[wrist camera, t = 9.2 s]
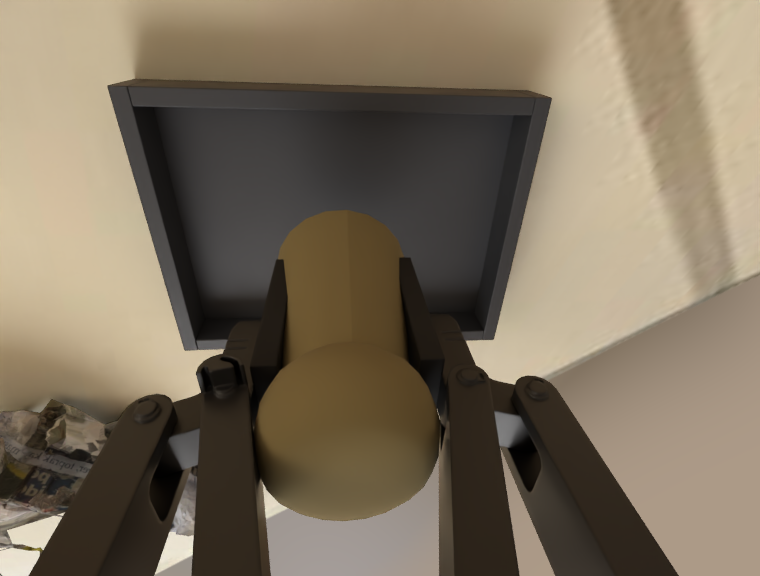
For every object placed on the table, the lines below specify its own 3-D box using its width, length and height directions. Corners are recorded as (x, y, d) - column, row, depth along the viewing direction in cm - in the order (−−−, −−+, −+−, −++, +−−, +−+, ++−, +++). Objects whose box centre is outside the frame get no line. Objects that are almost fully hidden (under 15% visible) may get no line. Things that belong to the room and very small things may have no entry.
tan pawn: (372, 333, 22) (403, 561, 12) (260, 299, 20) (197, 537, 10) (427, 238, 19) (518, 439, 10) (302, 188, 17) (267, 377, 8)
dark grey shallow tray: (529, 90, 21) (552, 97, 19) (481, 315, 29) (494, 340, 27) (133, 78, 19) (106, 85, 17) (197, 324, 27) (184, 350, 25)
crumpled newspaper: (90, 554, 35) (-148, 619, 21) (103, 424, 39) (-87, 408, 25) (217, 531, 34) (52, 584, 20) (216, 400, 38) (80, 369, 24)
